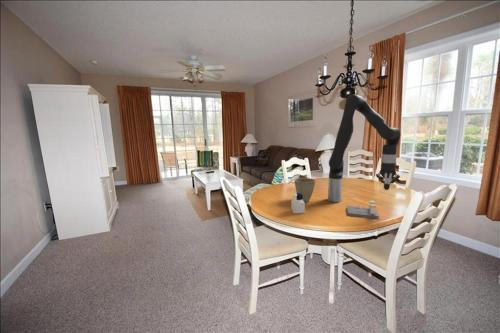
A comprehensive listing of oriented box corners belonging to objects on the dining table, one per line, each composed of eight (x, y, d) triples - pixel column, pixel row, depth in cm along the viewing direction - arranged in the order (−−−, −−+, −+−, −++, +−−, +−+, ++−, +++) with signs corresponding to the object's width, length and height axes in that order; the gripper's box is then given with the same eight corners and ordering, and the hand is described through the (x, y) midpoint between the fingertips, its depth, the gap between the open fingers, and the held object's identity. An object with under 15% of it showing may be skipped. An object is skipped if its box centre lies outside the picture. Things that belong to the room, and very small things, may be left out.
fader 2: (370, 213, 128) (371, 205, 127) (369, 212, 131) (370, 204, 130) (375, 214, 127) (375, 206, 127) (374, 212, 130) (375, 204, 129)
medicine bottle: (301, 209, 144) (302, 192, 142) (304, 213, 137) (305, 195, 135) (291, 209, 144) (291, 192, 142) (293, 213, 137) (293, 195, 135)
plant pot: (315, 204, 152) (316, 182, 150) (294, 203, 155) (294, 182, 153) (313, 197, 167) (314, 177, 164) (294, 197, 170) (294, 177, 167)
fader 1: (369, 209, 135) (370, 202, 134) (369, 208, 137) (369, 200, 137) (374, 210, 134) (374, 202, 133) (373, 208, 136) (374, 201, 136)
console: (347, 215, 132) (348, 212, 132) (347, 208, 144) (347, 205, 144) (378, 218, 126) (378, 216, 126) (375, 210, 138) (375, 208, 137)
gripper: (376, 162, 127) (374, 190, 130) (403, 162, 122) (400, 192, 125) (374, 160, 134) (373, 187, 137) (400, 161, 129) (397, 188, 132)
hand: (386, 189), depth 131 cm, fingers closed
